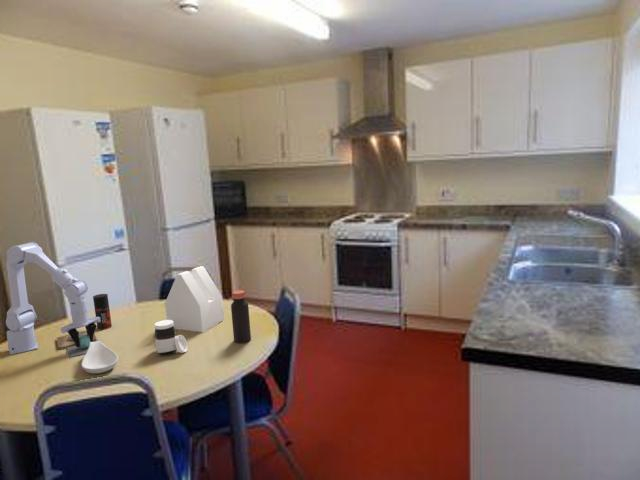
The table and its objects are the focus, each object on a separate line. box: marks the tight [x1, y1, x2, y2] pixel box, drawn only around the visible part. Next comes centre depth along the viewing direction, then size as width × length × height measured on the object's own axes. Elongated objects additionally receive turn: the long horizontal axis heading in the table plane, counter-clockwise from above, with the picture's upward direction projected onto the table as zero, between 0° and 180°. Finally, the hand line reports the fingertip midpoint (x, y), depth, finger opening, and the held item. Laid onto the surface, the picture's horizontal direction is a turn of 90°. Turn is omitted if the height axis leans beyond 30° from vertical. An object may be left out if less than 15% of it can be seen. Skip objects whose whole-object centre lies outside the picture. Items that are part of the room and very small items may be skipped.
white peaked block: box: [164, 265, 225, 333], centre depth 200 cm, size 19×15×25 cm
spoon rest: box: [80, 339, 119, 375], centre depth 164 cm, size 24×12×7 cm, turn 34°
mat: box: [66, 339, 101, 359], centre depth 180 cm, size 12×12×1 cm
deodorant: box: [92, 293, 113, 331], centre depth 203 cm, size 6×6×15 cm
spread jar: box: [153, 319, 188, 356], centre depth 172 cm, size 12×11×12 cm
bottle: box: [230, 289, 252, 344], centre depth 178 cm, size 7×7×20 cm
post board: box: [56, 330, 98, 351], centre depth 189 cm, size 14×14×3 cm
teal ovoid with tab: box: [78, 335, 90, 348], centre depth 179 cm, size 6×5×4 cm
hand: (84, 344), depth 179 cm, fingers closed on teal ovoid with tab, 4 cm apart
